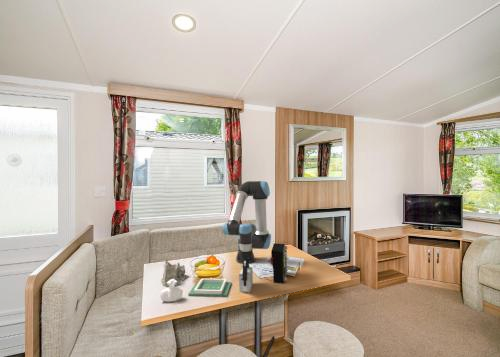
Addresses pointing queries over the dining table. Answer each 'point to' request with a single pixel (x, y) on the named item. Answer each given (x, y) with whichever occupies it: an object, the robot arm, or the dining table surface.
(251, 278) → the light bulb box
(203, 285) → the board
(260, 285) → the dining table surface
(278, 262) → the electrical component
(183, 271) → the ceramic cottage
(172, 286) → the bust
